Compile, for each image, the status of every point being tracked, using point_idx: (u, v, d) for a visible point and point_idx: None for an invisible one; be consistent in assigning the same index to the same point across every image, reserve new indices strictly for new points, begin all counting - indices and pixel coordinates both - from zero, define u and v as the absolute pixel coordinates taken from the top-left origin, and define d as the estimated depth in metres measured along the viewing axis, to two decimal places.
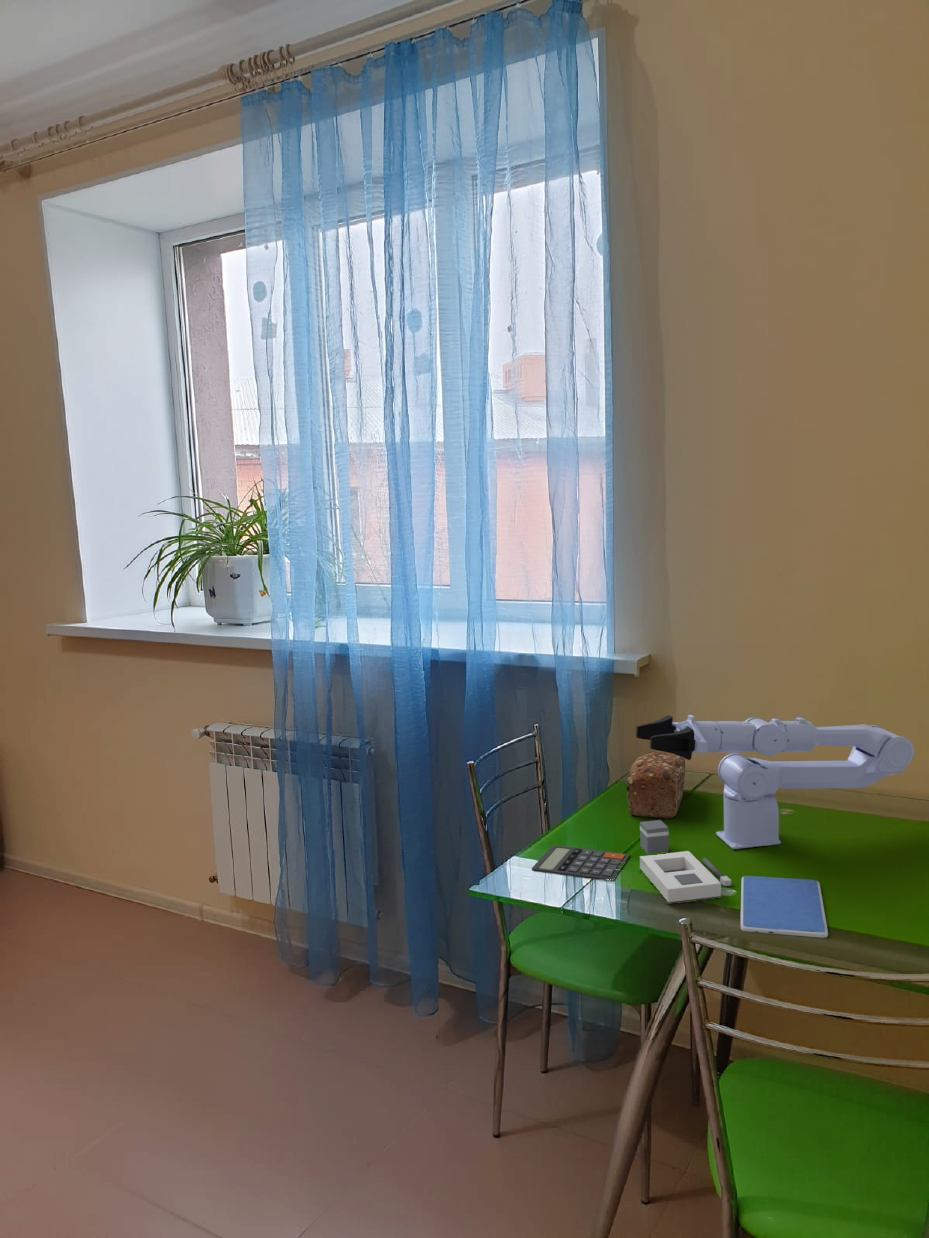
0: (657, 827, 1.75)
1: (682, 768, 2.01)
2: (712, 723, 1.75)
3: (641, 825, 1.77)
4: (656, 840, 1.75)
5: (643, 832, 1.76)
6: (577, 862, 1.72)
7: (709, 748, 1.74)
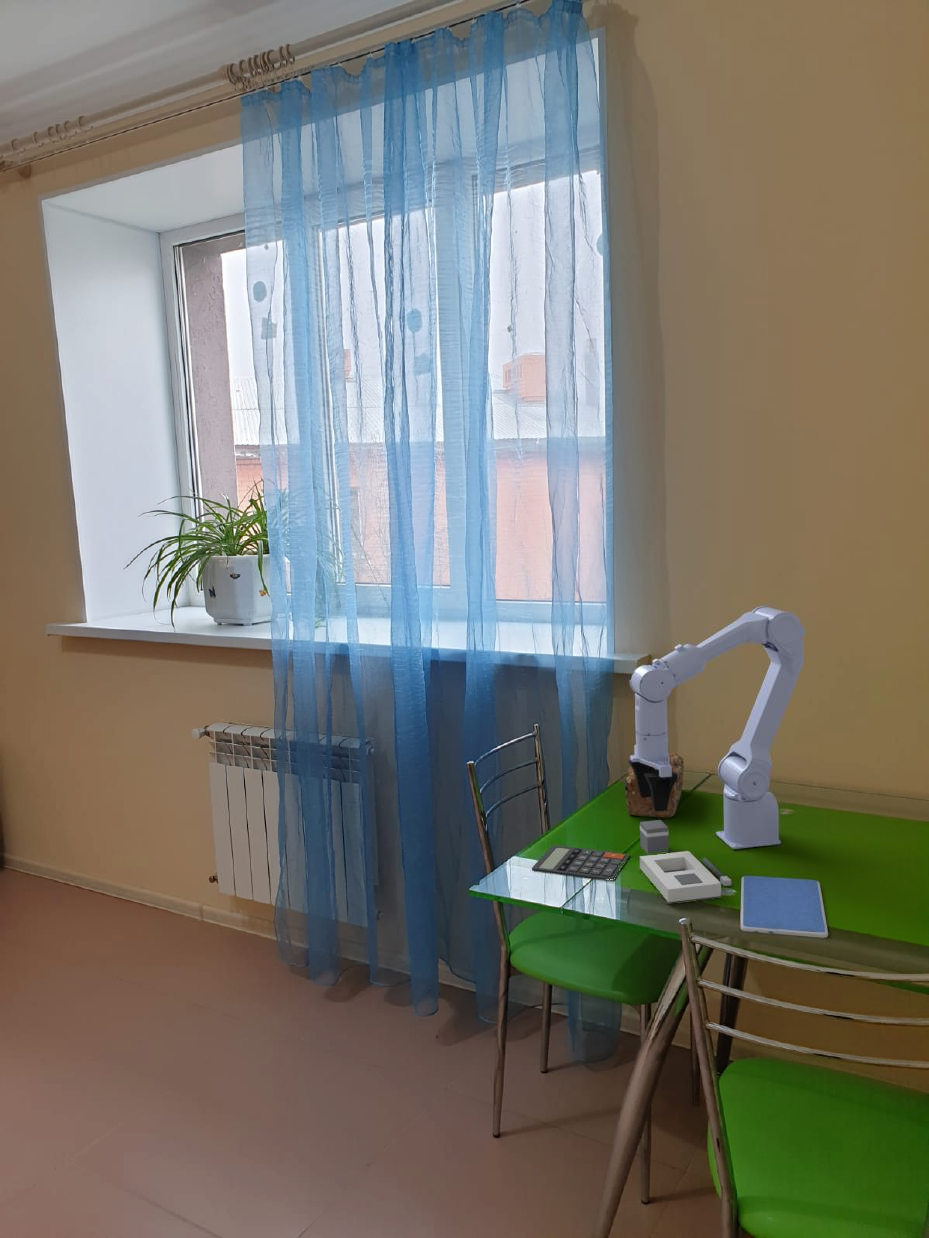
0: (657, 827, 1.75)
1: (680, 768, 2.02)
2: (638, 739, 1.73)
3: (641, 825, 1.77)
4: (656, 840, 1.75)
5: (643, 832, 1.76)
6: (577, 862, 1.72)
7: (664, 744, 1.72)
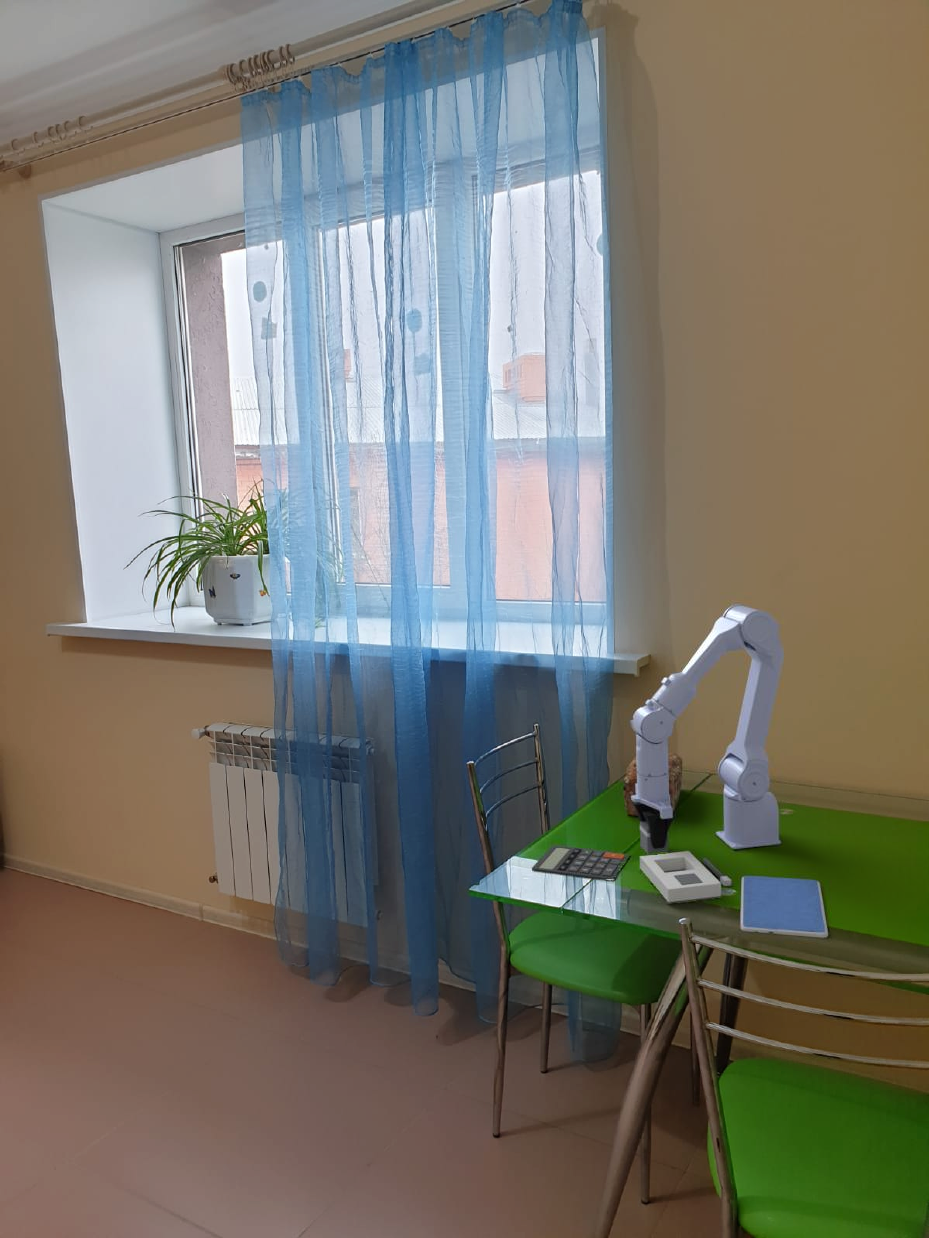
0: None
1: (679, 768, 2.02)
2: (639, 779, 1.74)
3: (641, 825, 1.77)
4: None
5: (643, 831, 1.76)
6: (577, 862, 1.72)
7: (665, 784, 1.73)
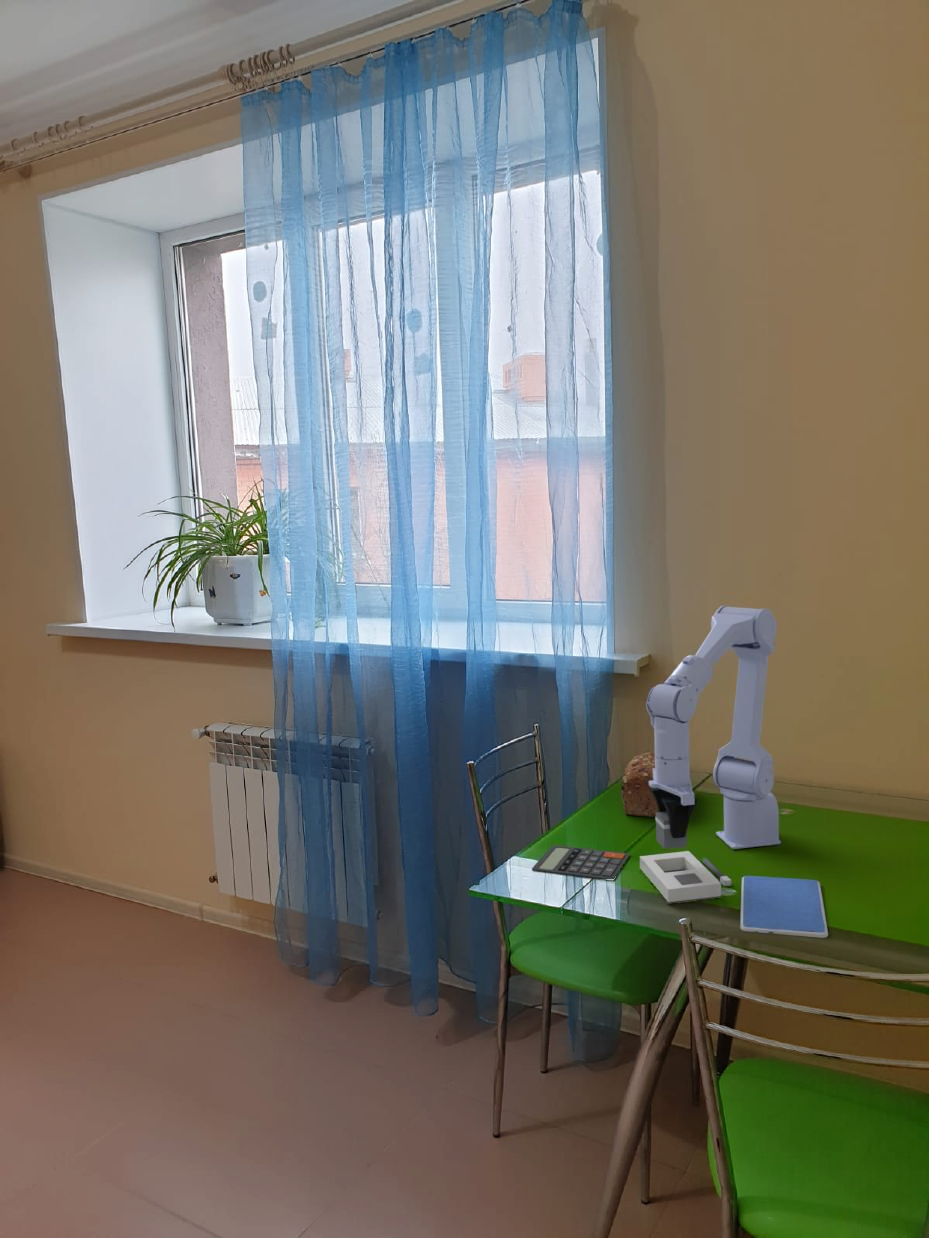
0: None
1: None
2: (658, 763, 1.60)
3: (657, 816, 1.64)
4: None
5: (659, 823, 1.63)
6: (577, 862, 1.72)
7: (686, 768, 1.59)
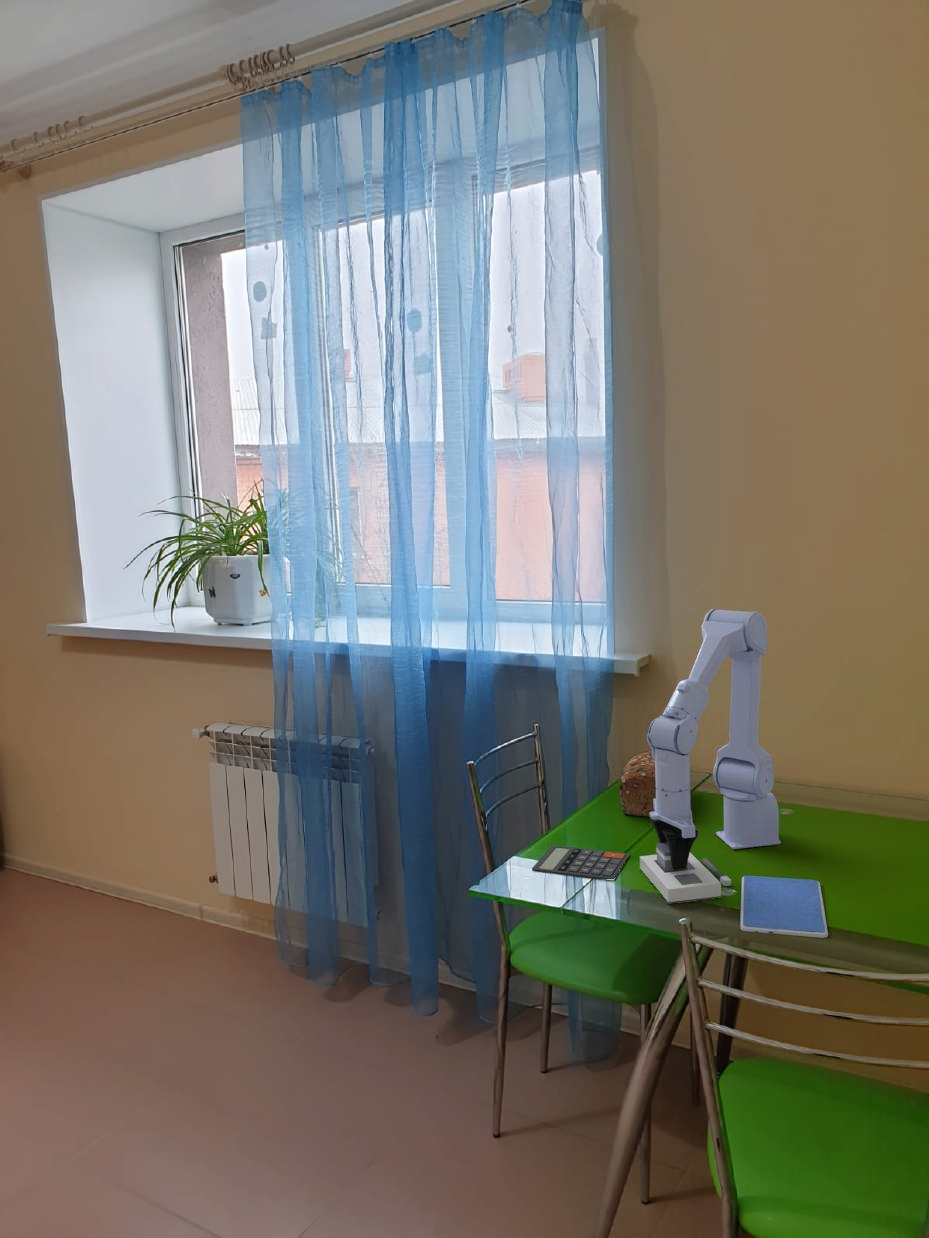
0: None
1: None
2: (659, 795, 1.61)
3: (658, 847, 1.64)
4: None
5: (660, 854, 1.63)
6: (577, 862, 1.72)
7: (687, 800, 1.60)
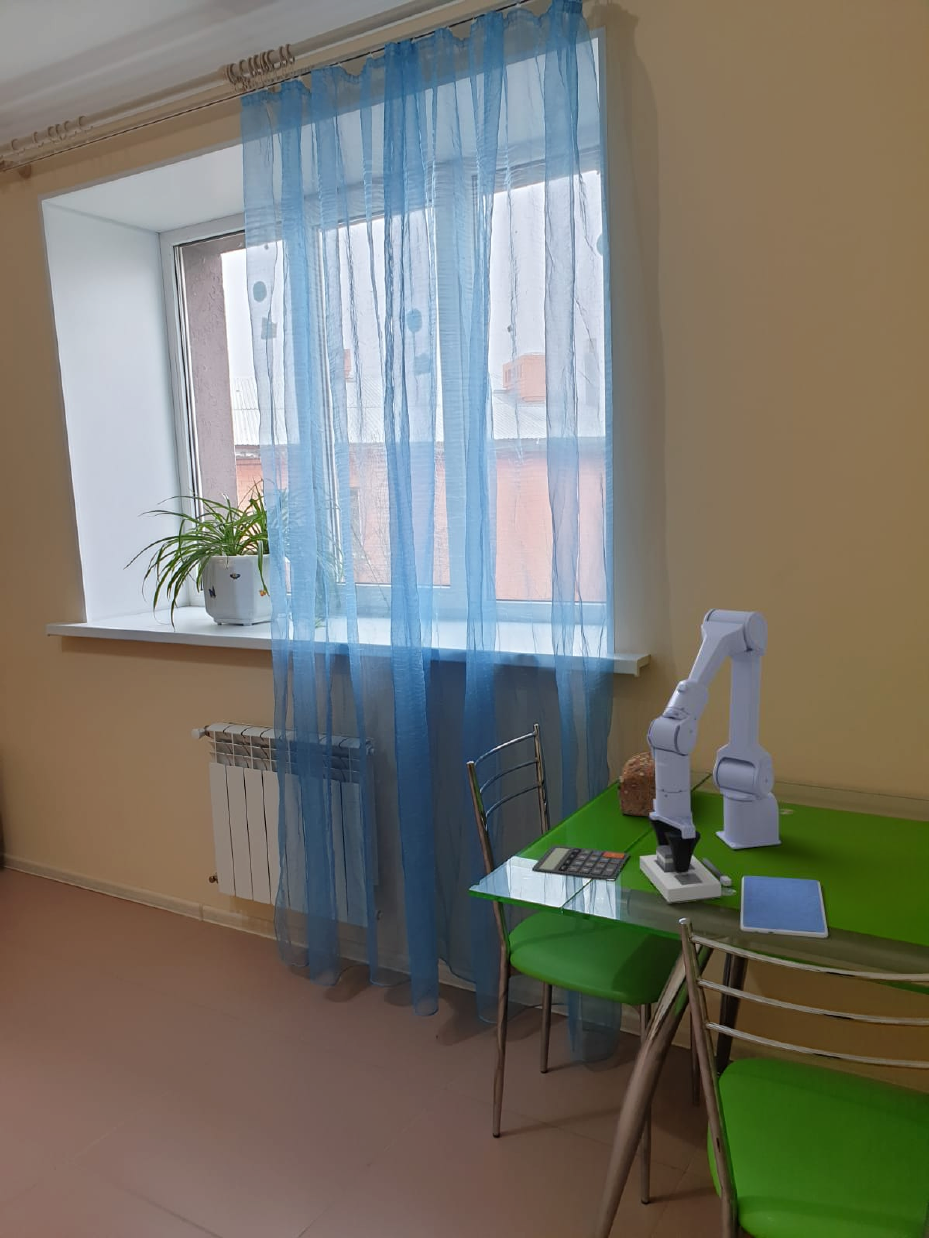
0: None
1: None
2: (659, 795, 1.61)
3: (658, 849, 1.64)
4: None
5: (660, 857, 1.64)
6: (577, 862, 1.72)
7: (687, 801, 1.60)
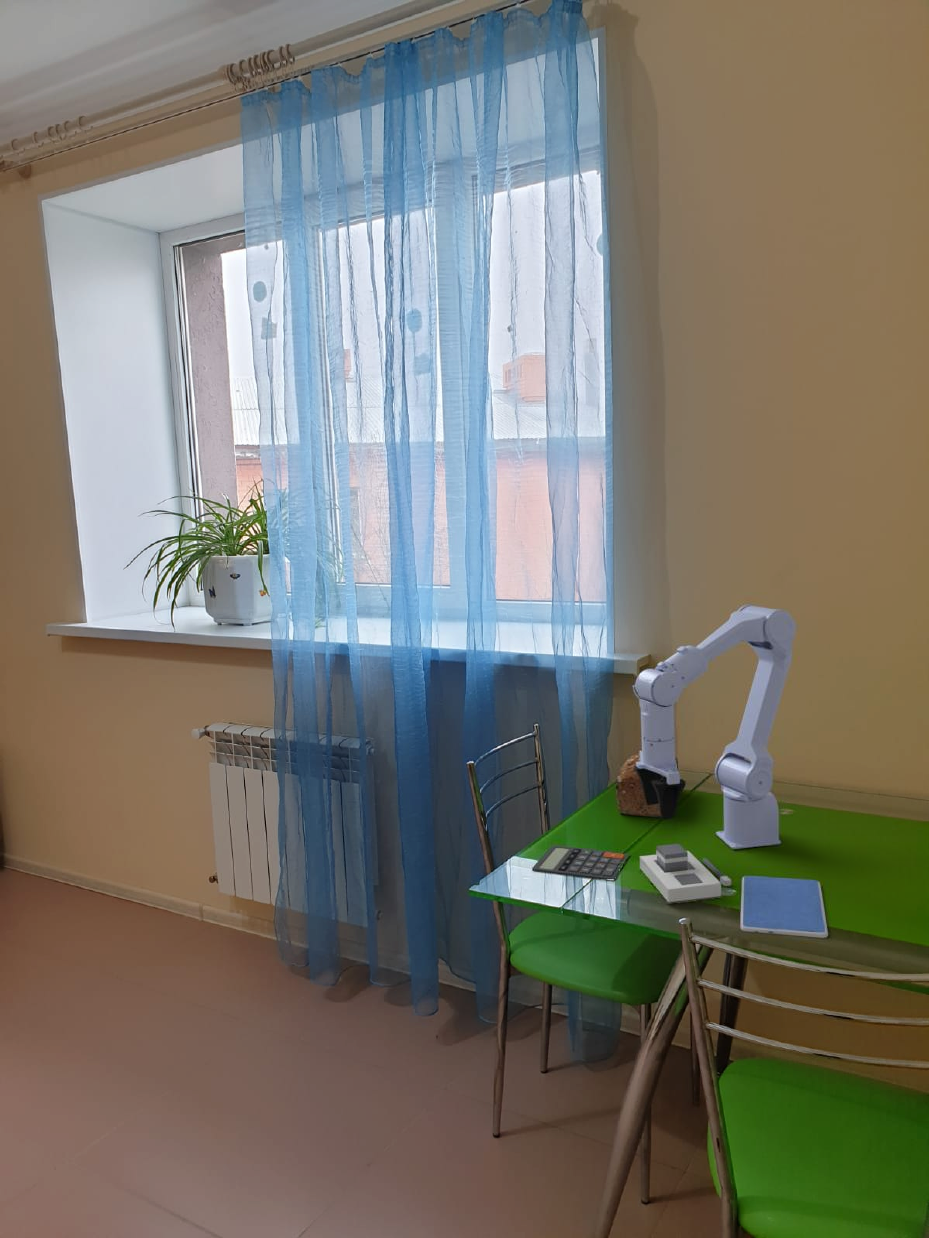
0: (675, 852, 1.62)
1: None
2: (645, 745, 1.68)
3: (658, 849, 1.64)
4: (674, 866, 1.62)
5: (660, 857, 1.64)
6: (577, 862, 1.72)
7: (671, 750, 1.67)
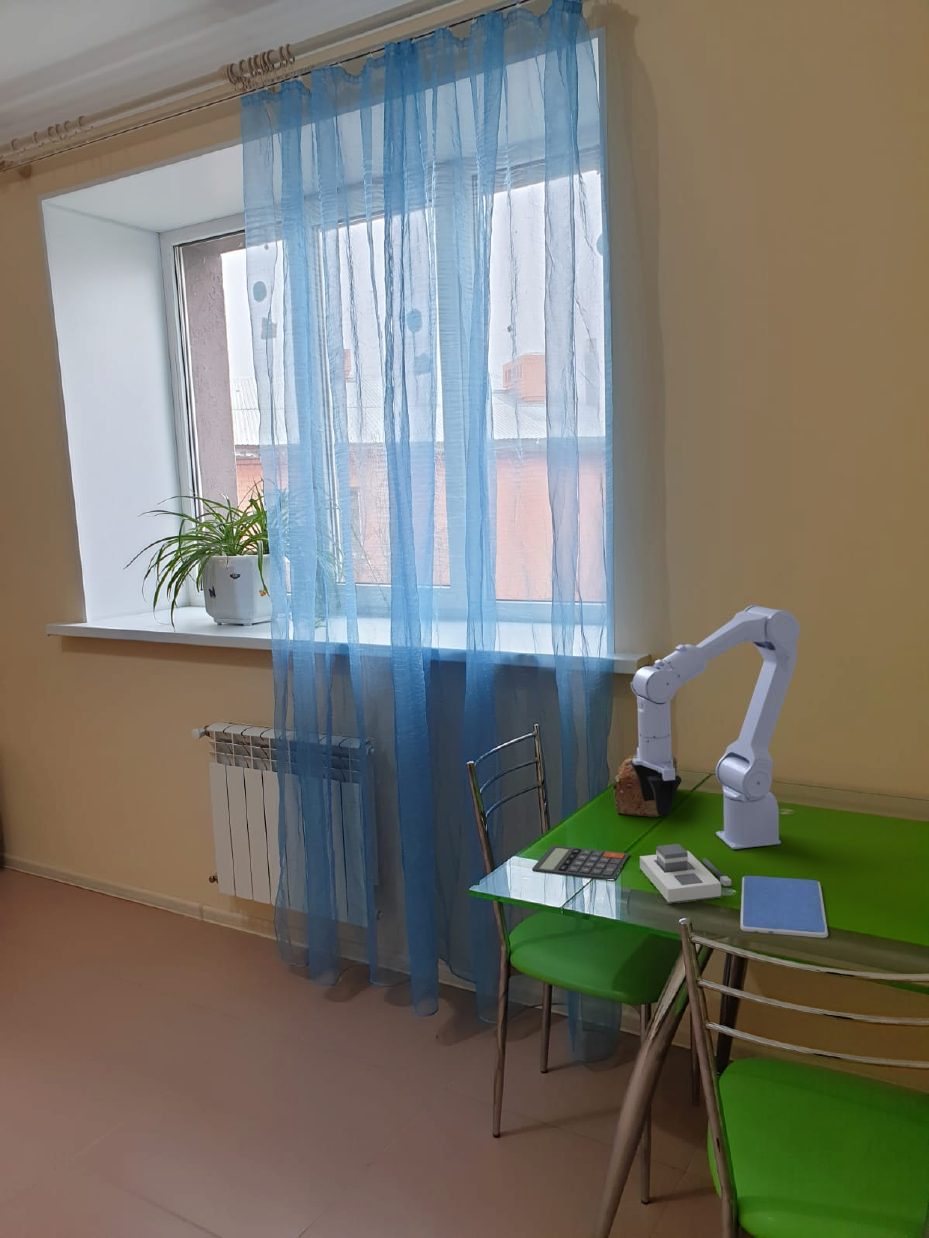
0: (675, 852, 1.62)
1: None
2: (641, 741, 1.70)
3: (658, 849, 1.64)
4: (674, 866, 1.62)
5: (660, 857, 1.64)
6: (577, 862, 1.72)
7: (667, 746, 1.69)
